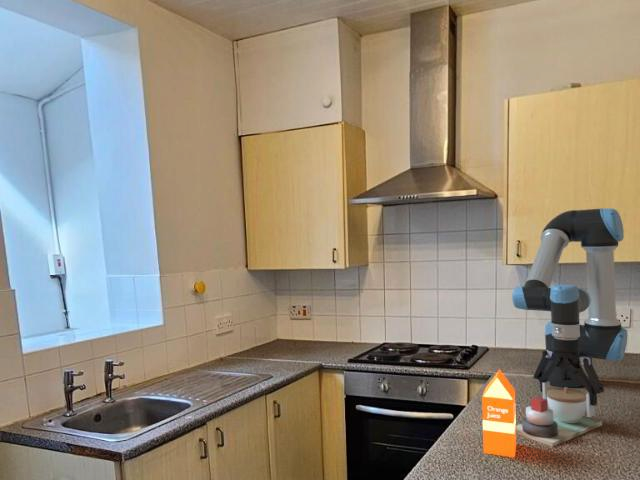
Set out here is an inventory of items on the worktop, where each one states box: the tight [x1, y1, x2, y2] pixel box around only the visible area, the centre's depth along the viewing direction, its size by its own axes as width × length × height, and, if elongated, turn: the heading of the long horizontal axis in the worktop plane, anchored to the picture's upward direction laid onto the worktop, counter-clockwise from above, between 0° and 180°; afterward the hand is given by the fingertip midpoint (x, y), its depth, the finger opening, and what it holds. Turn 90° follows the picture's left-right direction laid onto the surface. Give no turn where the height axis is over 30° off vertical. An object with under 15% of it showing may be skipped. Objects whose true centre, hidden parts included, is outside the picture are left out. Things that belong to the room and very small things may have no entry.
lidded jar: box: [546, 387, 587, 423], centre depth 145 cm, size 11×11×9 cm
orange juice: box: [481, 368, 517, 458], centre depth 129 cm, size 8×9×20 cm
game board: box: [516, 415, 603, 448], centre depth 141 cm, size 25×13×4 cm, turn 123°
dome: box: [525, 396, 553, 425], centre depth 137 cm, size 7×7×6 cm
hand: (567, 409), depth 144 cm, fingers open, 13 cm apart
